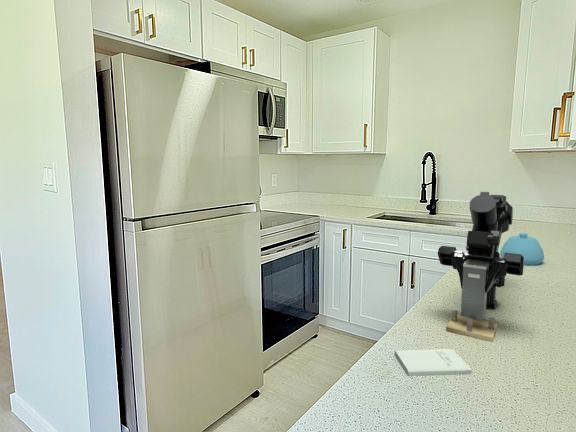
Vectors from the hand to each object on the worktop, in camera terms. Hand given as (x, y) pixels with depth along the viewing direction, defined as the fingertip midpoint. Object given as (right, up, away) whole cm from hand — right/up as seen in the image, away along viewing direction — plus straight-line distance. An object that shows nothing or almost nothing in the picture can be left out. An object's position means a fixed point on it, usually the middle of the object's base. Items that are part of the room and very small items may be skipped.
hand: (473, 290), depth 89 cm
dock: (+1, -10, +3) cm, 10 cm away
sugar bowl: (+50, -1, +62) cm, 80 cm away
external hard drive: (-15, -13, -13) cm, 24 cm away
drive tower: (+1, -6, +2) cm, 7 cm away
